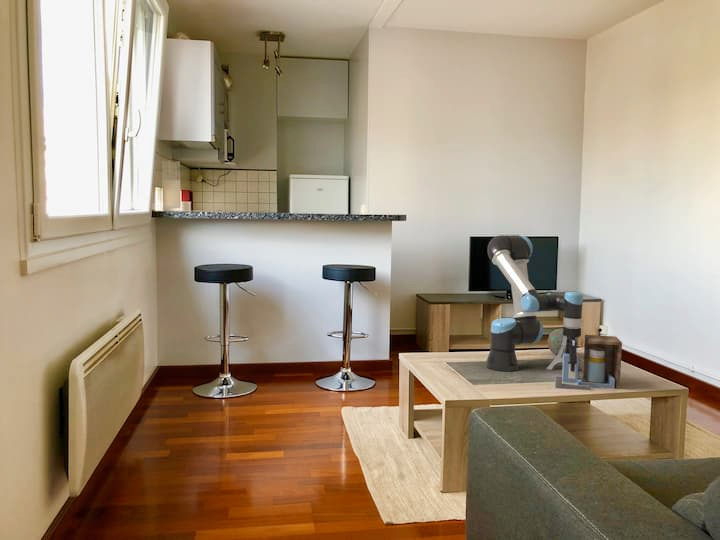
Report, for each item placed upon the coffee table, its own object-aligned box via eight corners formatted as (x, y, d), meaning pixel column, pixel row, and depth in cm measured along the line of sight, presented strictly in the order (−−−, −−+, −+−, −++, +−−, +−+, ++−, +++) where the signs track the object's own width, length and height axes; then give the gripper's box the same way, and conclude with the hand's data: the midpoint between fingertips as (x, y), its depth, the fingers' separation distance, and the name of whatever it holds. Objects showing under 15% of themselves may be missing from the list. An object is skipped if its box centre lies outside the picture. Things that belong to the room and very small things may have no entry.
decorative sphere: (549, 359, 302) (550, 330, 301) (544, 352, 317) (546, 325, 315) (579, 360, 300) (581, 331, 298) (573, 354, 314) (575, 326, 313)
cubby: (587, 386, 254) (589, 340, 252) (582, 378, 266) (585, 334, 265) (619, 389, 251) (622, 342, 249) (613, 380, 264) (615, 336, 262)
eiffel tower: (546, 369, 283) (549, 307, 280) (558, 364, 293) (561, 304, 290) (573, 374, 274) (576, 310, 271) (584, 369, 284) (588, 307, 281)
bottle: (603, 381, 262) (605, 348, 260) (604, 386, 255) (606, 352, 254) (586, 380, 264) (588, 347, 263) (587, 384, 258) (589, 350, 256)
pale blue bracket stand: (564, 384, 256) (565, 357, 255) (561, 378, 266) (562, 352, 265) (614, 388, 252) (615, 361, 251) (609, 382, 262) (611, 355, 261)
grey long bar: (555, 387, 251) (556, 376, 251) (555, 386, 254) (555, 375, 253) (590, 390, 248) (591, 379, 248) (589, 389, 251) (590, 377, 250)
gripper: (585, 333, 246) (582, 382, 248) (577, 322, 271) (574, 367, 273) (566, 332, 248) (564, 381, 250) (560, 321, 272) (557, 366, 274)
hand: (569, 374), depth 261 cm, fingers open, 13 cm apart
